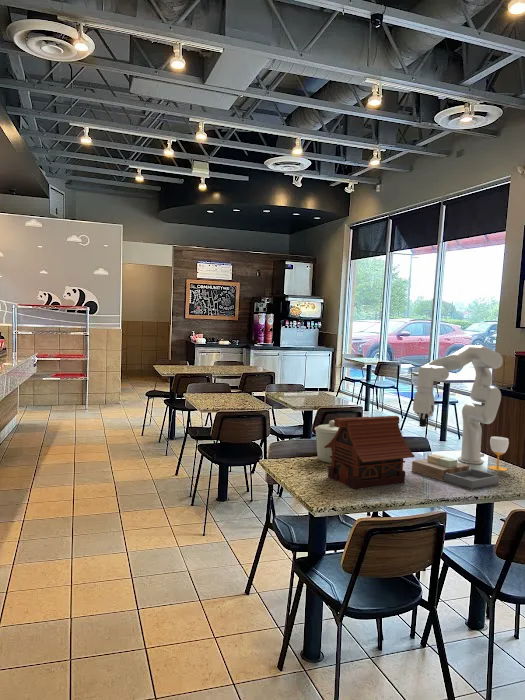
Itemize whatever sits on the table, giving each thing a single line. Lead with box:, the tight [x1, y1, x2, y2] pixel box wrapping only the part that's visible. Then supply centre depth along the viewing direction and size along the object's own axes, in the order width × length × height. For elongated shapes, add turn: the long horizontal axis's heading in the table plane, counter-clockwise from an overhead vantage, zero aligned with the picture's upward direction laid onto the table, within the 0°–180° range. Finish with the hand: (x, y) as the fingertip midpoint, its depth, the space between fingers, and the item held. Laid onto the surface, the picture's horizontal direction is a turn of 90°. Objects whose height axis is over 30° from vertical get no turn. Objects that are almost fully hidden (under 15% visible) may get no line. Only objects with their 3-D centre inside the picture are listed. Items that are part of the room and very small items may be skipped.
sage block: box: [438, 456, 458, 467], centre depth 251 cm, size 6×6×3 cm
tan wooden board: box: [411, 458, 470, 482], centre depth 254 cm, size 20×18×5 cm
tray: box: [442, 468, 500, 491], centre depth 240 cm, size 20×15×4 cm
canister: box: [314, 419, 339, 464], centre depth 269 cm, size 18×18×21 cm
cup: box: [487, 435, 510, 472], centre depth 268 cm, size 9×9×16 cm
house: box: [324, 415, 416, 490], centre depth 235 cm, size 35×28×29 cm
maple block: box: [427, 453, 446, 464], centre depth 256 cm, size 6×6×3 cm
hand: (422, 426), depth 263 cm, fingers closed
